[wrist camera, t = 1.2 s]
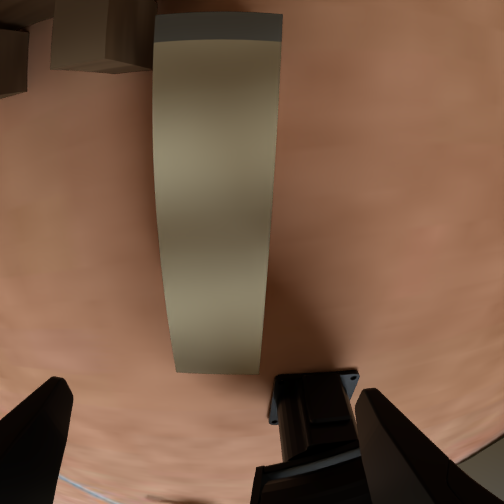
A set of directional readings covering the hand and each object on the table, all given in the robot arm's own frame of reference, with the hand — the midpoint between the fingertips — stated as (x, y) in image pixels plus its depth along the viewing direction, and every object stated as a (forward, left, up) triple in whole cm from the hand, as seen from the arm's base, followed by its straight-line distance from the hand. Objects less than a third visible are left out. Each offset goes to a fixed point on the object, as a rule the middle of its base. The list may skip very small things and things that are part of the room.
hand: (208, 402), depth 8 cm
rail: (+3, 0, -10) cm, 10 cm away
